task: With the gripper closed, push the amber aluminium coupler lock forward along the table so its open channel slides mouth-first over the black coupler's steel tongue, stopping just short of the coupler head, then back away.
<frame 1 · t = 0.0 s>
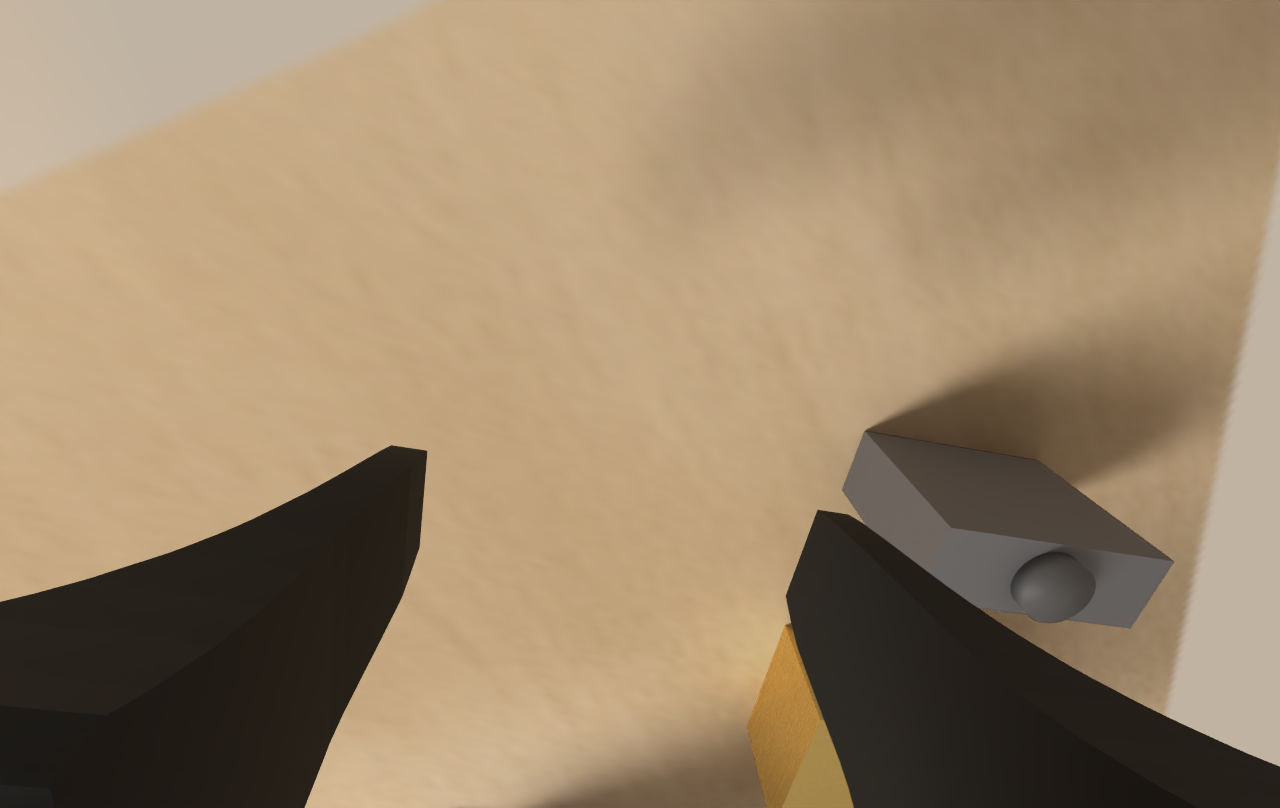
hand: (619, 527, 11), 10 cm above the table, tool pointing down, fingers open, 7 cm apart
lock: (844, 686, 27), on the table
coupler: (908, 546, 24), on the table
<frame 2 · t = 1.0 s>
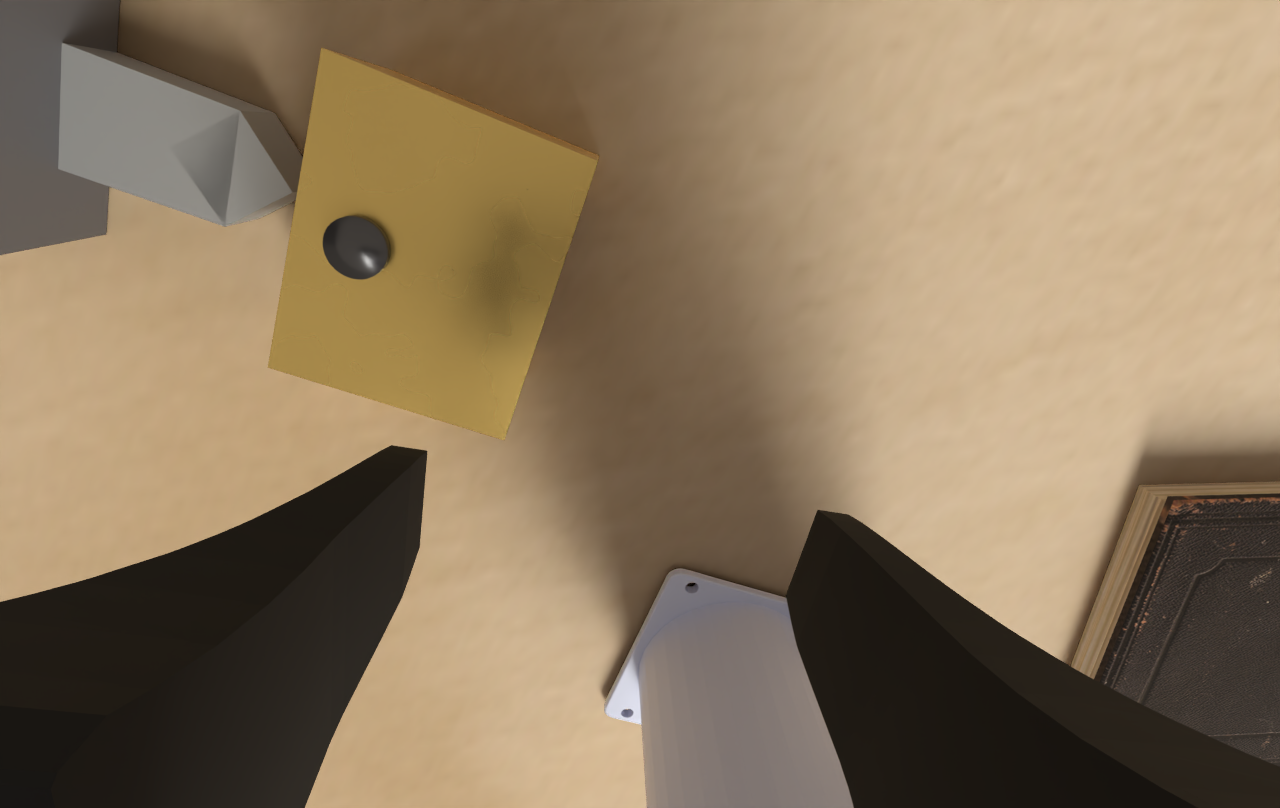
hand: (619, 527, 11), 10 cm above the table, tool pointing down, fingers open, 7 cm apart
lock: (464, 239, 19), on the table
coupler: (191, 139, 17), on the table
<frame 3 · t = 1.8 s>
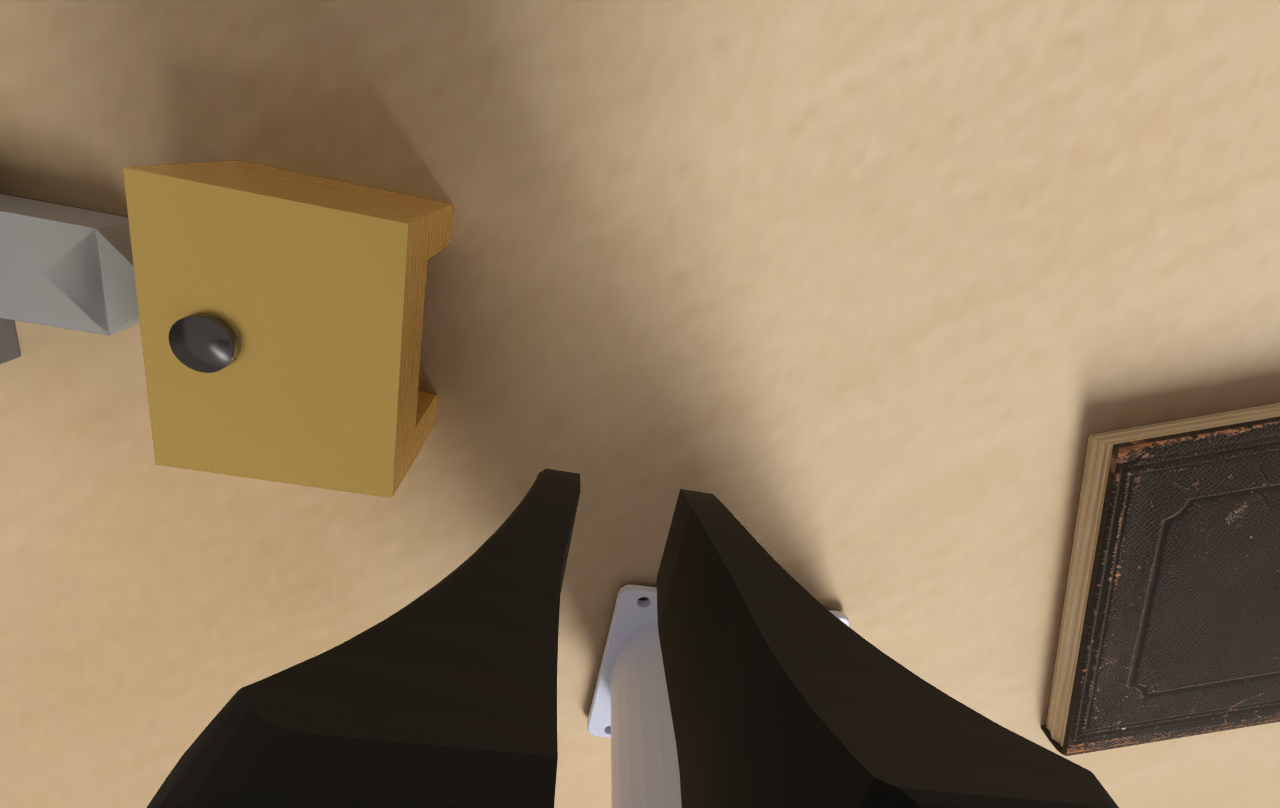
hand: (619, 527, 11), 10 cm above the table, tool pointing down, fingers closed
lock: (345, 305, 19), on the table
coupler: (74, 257, 18), on the table
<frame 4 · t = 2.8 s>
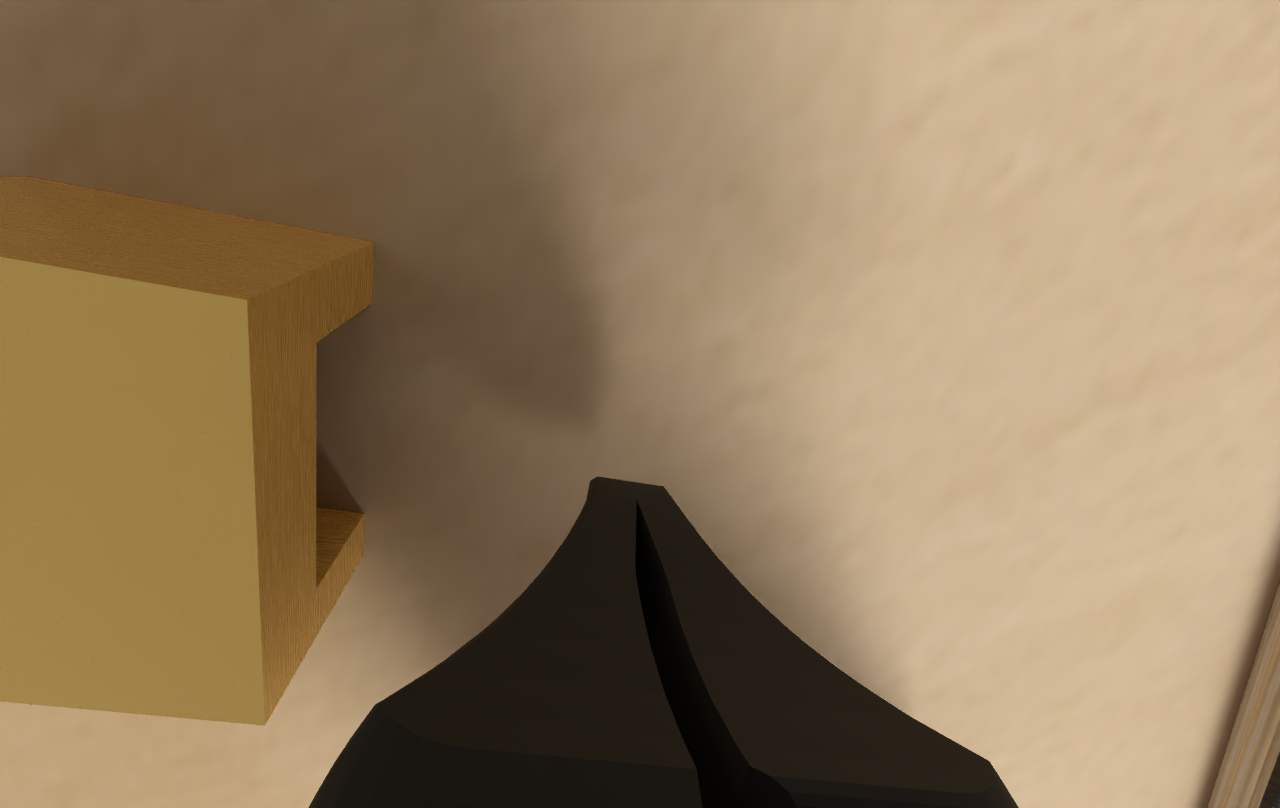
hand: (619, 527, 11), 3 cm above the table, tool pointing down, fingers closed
lock: (218, 392, 13), on the table
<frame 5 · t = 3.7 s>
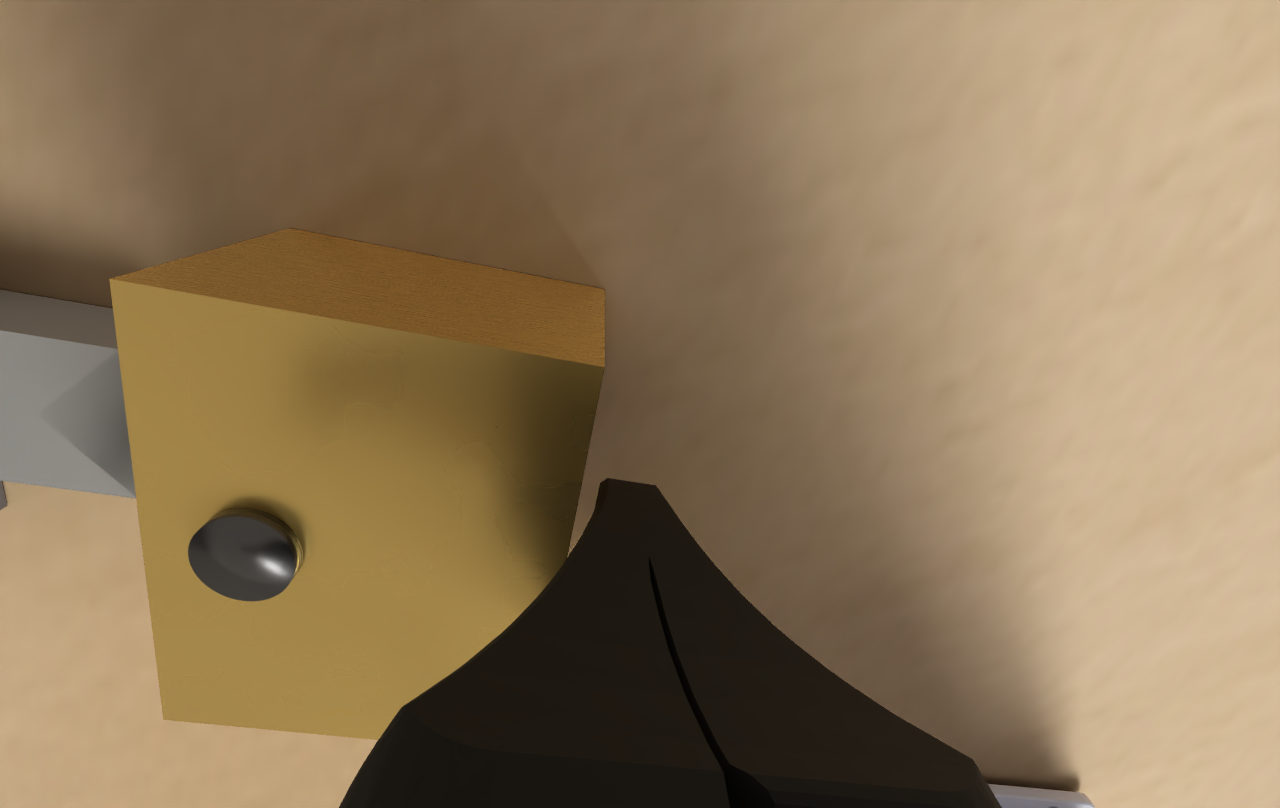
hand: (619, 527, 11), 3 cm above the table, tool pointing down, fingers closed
lock: (437, 428, 13), on the table, touching gripper
coupler: (84, 373, 12), on the table
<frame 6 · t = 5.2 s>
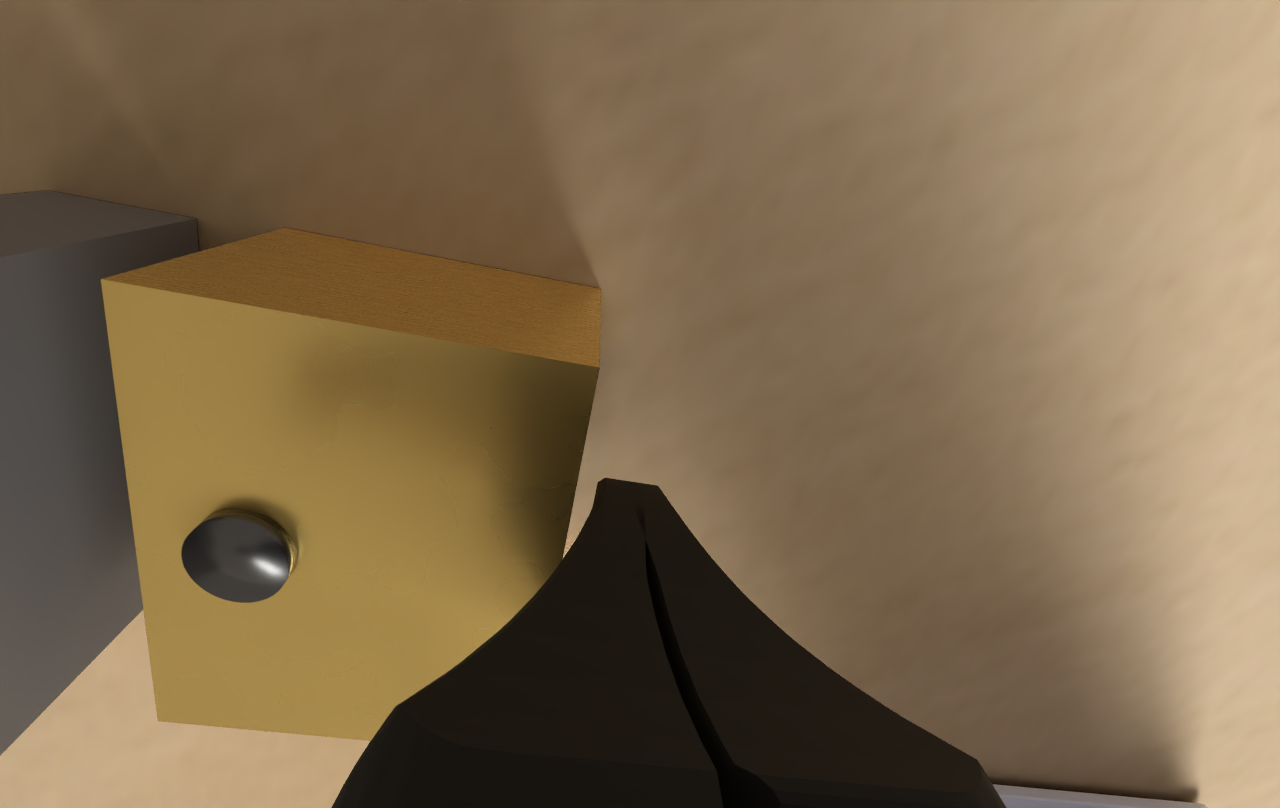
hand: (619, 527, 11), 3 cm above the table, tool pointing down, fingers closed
lock: (433, 428, 13), on the table, touching gripper
coupler: (310, 407, 13), on the table
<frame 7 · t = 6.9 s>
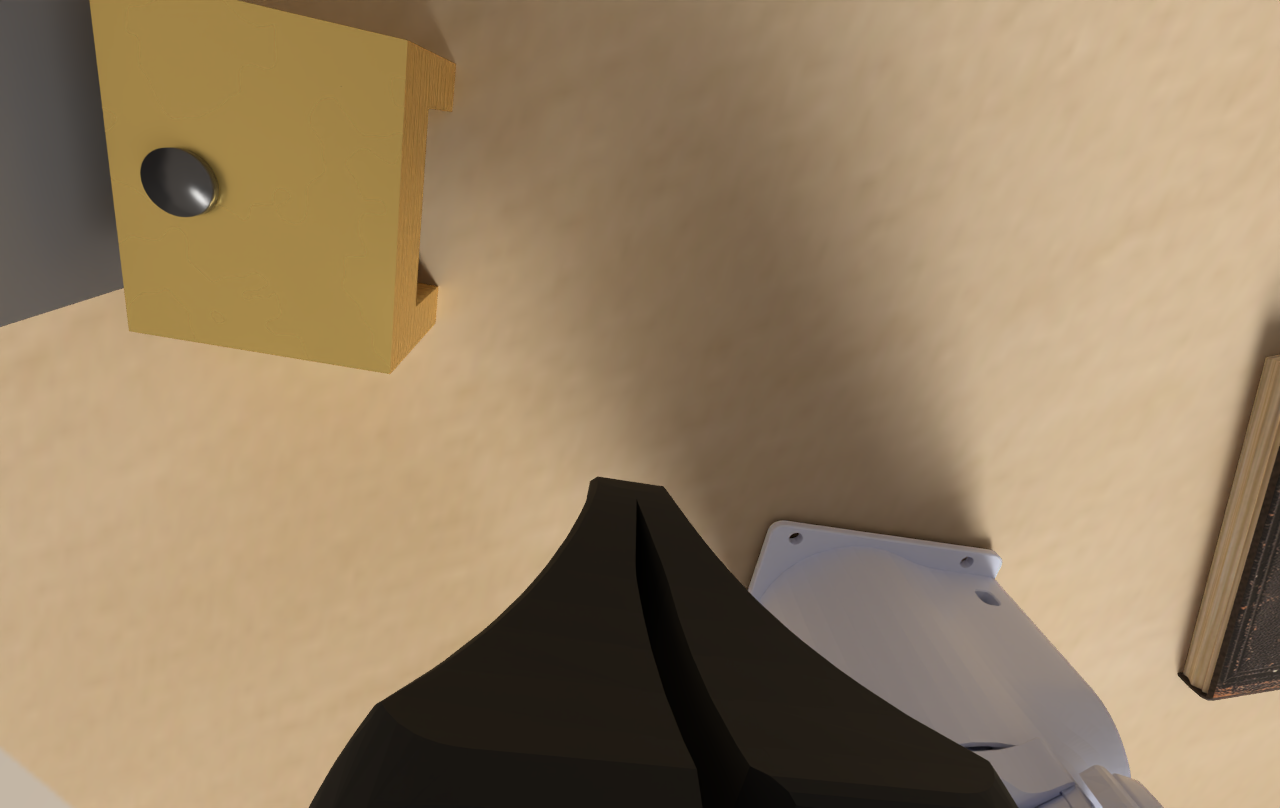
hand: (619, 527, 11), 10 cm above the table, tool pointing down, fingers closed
lock: (339, 182, 18), on the table
coupler: (245, 161, 17), on the table
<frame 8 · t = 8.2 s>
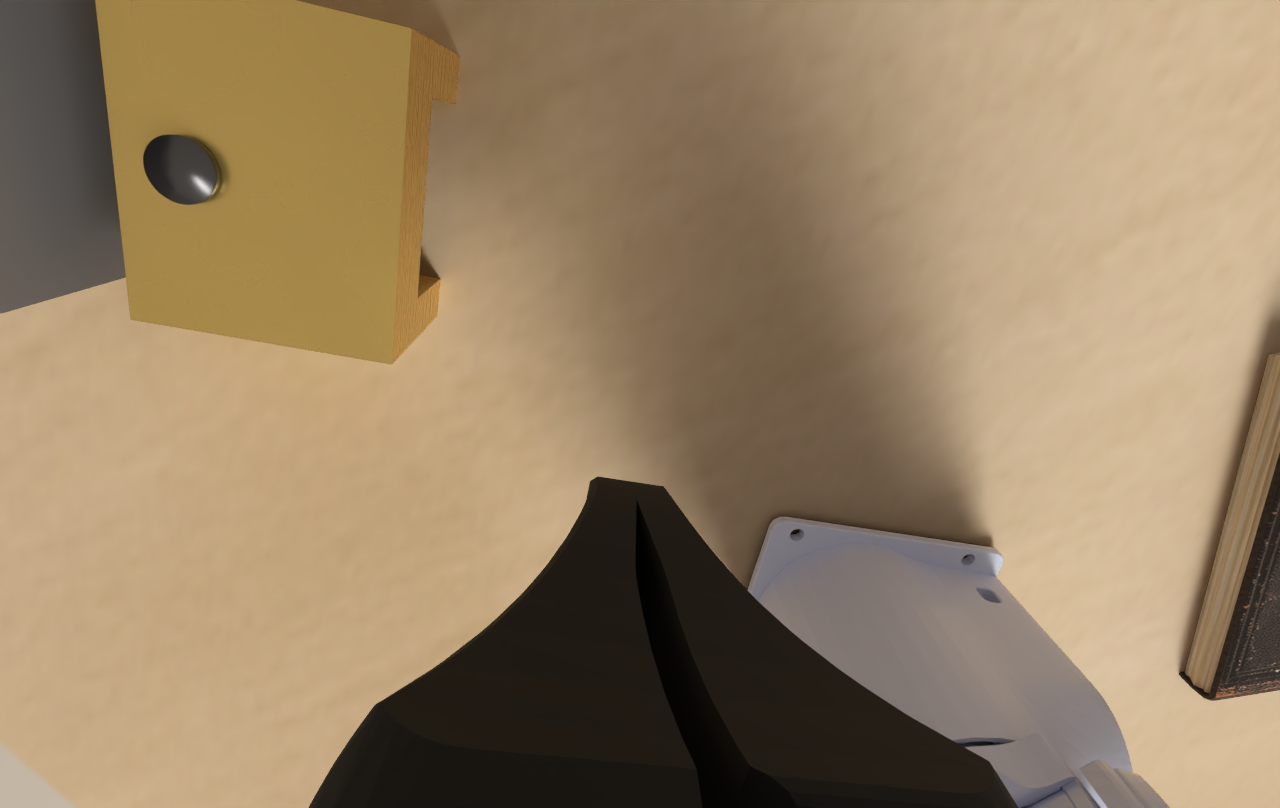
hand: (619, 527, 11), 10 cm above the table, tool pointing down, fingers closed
lock: (342, 173, 18), on the table
coupler: (247, 151, 17), on the table
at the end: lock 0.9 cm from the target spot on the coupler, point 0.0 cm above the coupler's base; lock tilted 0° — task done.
